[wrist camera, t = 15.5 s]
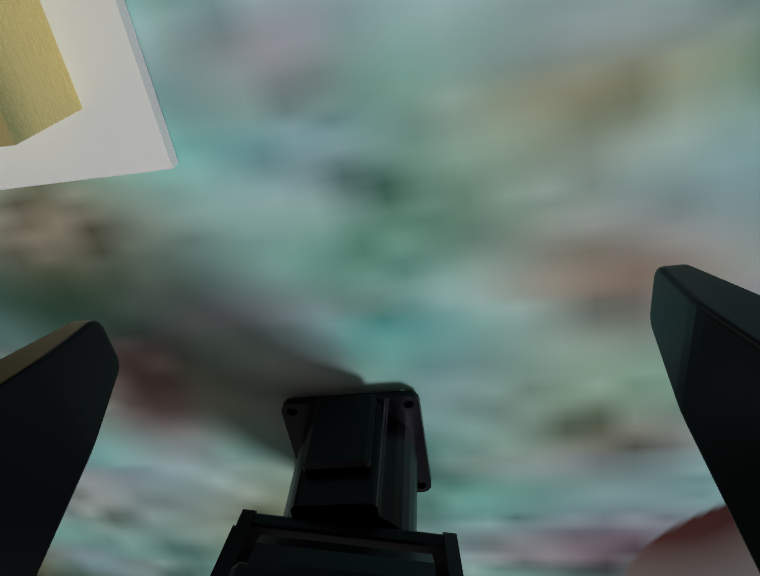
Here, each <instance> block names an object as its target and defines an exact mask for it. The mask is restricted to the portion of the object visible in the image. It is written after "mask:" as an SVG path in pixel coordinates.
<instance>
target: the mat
mask: <svg viewBox="0 0 760 576" xmlns="http://www.w3.org/2000/svg"><path fill="white" fill-rule="evenodd" d="M40 3H41V5H42V8H43V10H44V13H45V15H46V18H47V20H48V23H49V25H50V28H51V30H52V33H53V35H54V38H55V40H56V43H57V45H58V48H59V50H60V53H61V55H62V58H63V60H64V63H65V65H66V68H67V70H68V73H69V75H70V78H71V80H72V83H73V85H74V88H75V90H76V93H77V95H78V98H79V100H80V103H81V105H82V108H83V109H81V110H79V111H78V112H76V113H74V114H72V115H70V116H68V117H67V118H65V119H63V120H61V121H59V122H57V123H56V124H54V125H52V126H50V127H48V128H46V129H44V130H43V131H41V132H39V133H37V134H35V135H33V136H32V137H30V138H28V139H26V140H24V141H22V142H21V143H19V144H17V145H13V146H5V147H0V190H3V189H11V188H19V187H28V186H36V185H44V184H52V183H60V182H69V181H77V180H85V179H93V178H101V177H110V176H118V175H126V174H134V173H142V172H150V171H159V170H167V169H173V168H174V167H175V166H176V165H177V164H178V160H177V157H176V154H175V151H174V148H173V145H172V142H171V139H170V136H169V133H168V130H167V127H166V124H165V121H164V118H163V115H162V112H161V109H160V106H159V103H158V100H157V97H156V94H155V91H154V88H153V85H152V82H151V79H150V76H149V73H148V70H147V67H146V64H145V61H144V58H143V55H142V52H141V49H140V46H139V43H138V40H137V37H136V34H135V31H134V28H133V25H132V22H131V19H130V16H129V13H128V10H127V7H126V4H125V1H124V0H40Z"/></svg>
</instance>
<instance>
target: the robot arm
mask: <svg viewBox="0 0 760 576" xmlns="http://www.w3.org/2000/svg"><path fill="white" fill-rule="evenodd" d="M650 319H651V326H652V330H653V333H654V336H655V338H656V341H657V344H658V347H659V350H660V353H661V356H662V359H663V362H664V365H665V368H666V371H667V374H668V377H669V380H670V383H671V386H672V388H673V391H674V394H675V397H676V400H677V403H678V405H679V408H680V411H681V413H682V415H683V417H684V420H685V422H686V424H687V426H688V428H689V430H690V432H691V434H692V436H693V438H694V440H695V442H696V444H697V446H698V449H699V451H700V453H701V455H702V457H703V459H704V461H705V463H706V465H707V467H708V469H709V471H710V473H711V475H712V477H713V479H714V481H715V483H716V485H717V487H718V489H719V491H720V493H721V495H722V497H723V499H724V501H725V503H726V505H727V507H728V510H729V511H730V514H731V515H732V518H733V520H734V522H735V524H736V526H737V528H738V530H739V532H740V534H741V536H742V538H743V540H744V542H745V544H746V546H747V548H748V550H749V552H750V554H751V556H752V558H753V560H754V562H755V564H756V566H757V568H758V570H759V573H760V295H758V294H756V293H754V292H751V291H749V290H746V289H744V288H742V287H739V286H737V285H735V284H732V283H730V282H727V281H725V280H723V279H720V278H718V277H716V276H713V275H711V274H709V273H706V272H704V271H701V270H699V269H697V268H694V267H692V266H690V265H684V264H682V265H671V266H662V267H659V268H658V269H657V270H656V272H655V275H654V283H653V292H652V302H651V311H650ZM118 372H119V361H118V357H117V355H116V353H115V351H114V349H113V346H112V344H111V342H110V340H109V338H108V336H107V334H106V332H105V330H104V328H103V326H102V325H101V324H100V323H99V322H98V321H95V320H85V321H75V322H71V323H69V324H67V325H65V326H63V327H61V328H59V329H57V330H56V331H54V332H52V333H50V334H48V335H46V336H44V337H42V338H40V339H38V340H36V341H35V342H33V343H31V344H29V345H27V346H25V347H23V348H21V349H19V350H17V351H15V352H14V353H12V354H10V355H8V356H6V357H4V358H2V359H0V576H37V573H38V571H39V569H40V567H41V564H42V562H43V560H44V558H45V556H46V553H47V551H48V549H49V547H50V544H51V542H52V540H53V538H54V535H55V533H56V531H57V529H58V527H59V524H60V522H61V520H62V518H63V515H64V513H65V511H66V509H67V506H68V504H69V502H70V500H71V498H72V495H73V493H74V491H75V489H76V486H77V484H78V482H79V480H80V477H81V475H82V473H83V471H84V469H85V466H86V464H87V462H88V459H89V457H90V455H91V452H92V450H93V447H94V445H95V442H96V439H97V436H98V433H99V430H100V427H101V424H102V421H103V418H104V415H105V412H106V409H107V406H108V403H109V400H110V397H111V393H112V390H113V387H114V384H115V381H116V378H117V375H118ZM407 400H409V401H412V402H410V403H407V402H405V401H407ZM290 408H294V409H296V410H292V409H290ZM282 415H283V418H284V421H285V424H286V428H287V431H288V434H289V437H290V440H291V444H292V447H293V450H294V453H295V457H296V460H297V461H296V465H295V469H294V473H293V477H292V482H291V486H290V490H289V494H288V499H287V503H286V507H285V511H284V516H278V515H269V514H261V513H257V511H255V510H247V509H243V511H242V513H241V515H240V517H239V519H238V522H237V524H236V526H235V525H233V527H232V529H231V531H230V533H229V535H228V538H227V540H226V542H225V544H224V546H223V549H222V551H221V553H220V555H219V558H218V560H217V562H216V564H215V566H214V569H213V571H212V573H211V575H210V576H463V570H462V564H461V558H460V552H459V546H458V540H457V534H455V533H447V532H443V534H435V533H426V532H417V492H425V491H428V490H429V489H430V488H431V475H430V468H429V461H428V454H427V447H426V440H425V433H424V427H423V420H422V413H421V406H420V399H419V396H418V394H417V393H416V392H413V391H408V390H406V391H391V392H376V393H361V394H347V395H332V396H317V397H302V398H290V399H287V400H286V401H285V402H284V404H283V407H282ZM421 482H422V483H421Z"/></svg>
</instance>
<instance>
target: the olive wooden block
mask: <svg viewBox="0 0 760 576" xmlns="http://www.w3.org/2000/svg"><path fill="white" fill-rule="evenodd" d="M81 109H83V108H82V105H81V103H80V100H79V98H78V95H77V93H76V90H75V88H74V85H73V83H72V80H71V78H70V75H69V73H68V70H67V68H66V65H65V63H64V60H63V58H62V55H61V53H60V50H59V48H58V45H57V43H56V40H55V38H54V35H53V33H52V30H51V28H50V25H49V23H48V20H47V18H46V15H45V13H44V10H43V8H42V5H41V3H40V0H0V147H5V146H13V145H17V144H19V143H21V142H22V141H24V140H26V139H28V138H30V137H32V136H33V135H35V134H37V133H39V132H41V131H43V130H44V129H46V128H48V127H50V126H52V125H54V124H56V123H57V122H59V121H61V120H63V119H65V118H67V117H68V116H70V115H72V114H74V113H76V112H78V111H79V110H81Z"/></svg>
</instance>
